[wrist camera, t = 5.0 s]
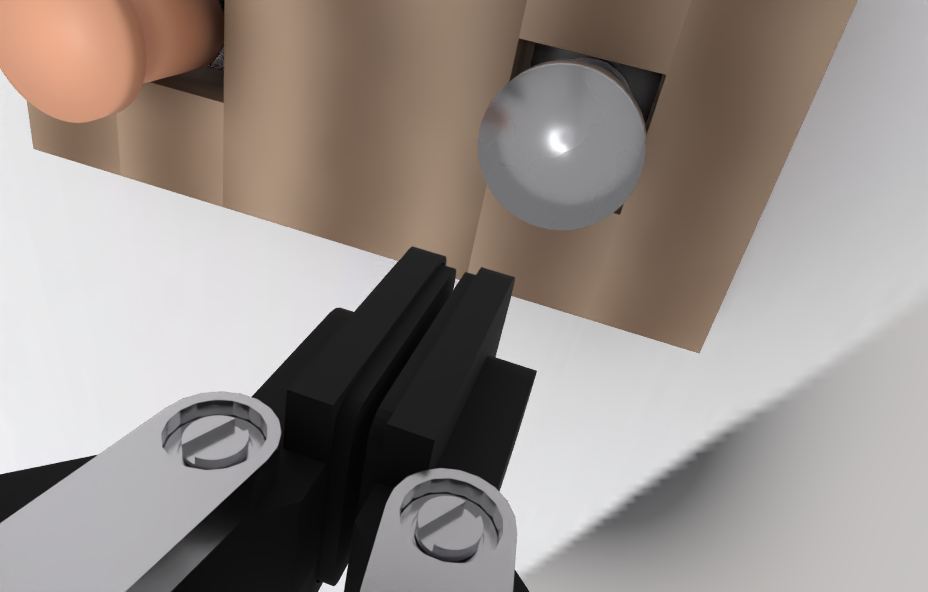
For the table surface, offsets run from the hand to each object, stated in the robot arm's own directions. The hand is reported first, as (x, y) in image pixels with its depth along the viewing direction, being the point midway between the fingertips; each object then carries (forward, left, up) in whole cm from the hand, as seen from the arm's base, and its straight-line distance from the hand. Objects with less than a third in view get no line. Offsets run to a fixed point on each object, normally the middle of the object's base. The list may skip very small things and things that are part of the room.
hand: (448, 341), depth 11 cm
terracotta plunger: (+13, -9, -16) cm, 22 cm away
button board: (+7, -5, -19) cm, 21 cm away
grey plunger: (0, 0, -18) cm, 18 cm away
